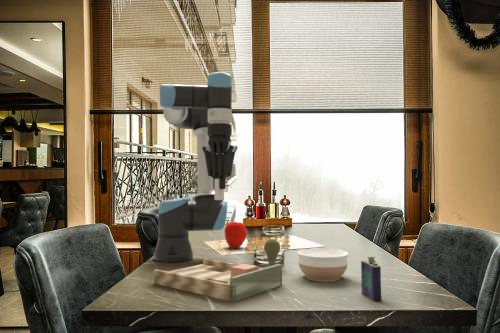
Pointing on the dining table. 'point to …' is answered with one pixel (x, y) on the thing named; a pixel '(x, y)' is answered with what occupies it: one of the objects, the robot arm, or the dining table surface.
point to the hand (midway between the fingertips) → (219, 199)
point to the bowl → (323, 264)
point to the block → (242, 269)
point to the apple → (235, 234)
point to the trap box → (220, 280)
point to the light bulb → (272, 250)
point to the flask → (371, 279)
